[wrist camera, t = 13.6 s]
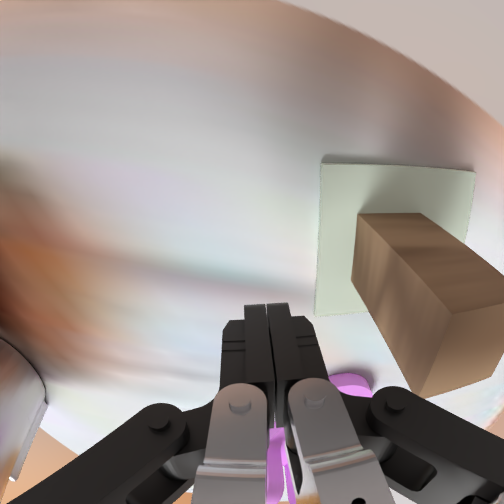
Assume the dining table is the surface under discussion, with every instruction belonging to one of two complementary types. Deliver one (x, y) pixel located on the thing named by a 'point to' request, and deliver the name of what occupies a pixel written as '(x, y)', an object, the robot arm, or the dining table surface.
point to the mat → (378, 201)
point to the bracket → (276, 450)
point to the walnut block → (429, 300)
